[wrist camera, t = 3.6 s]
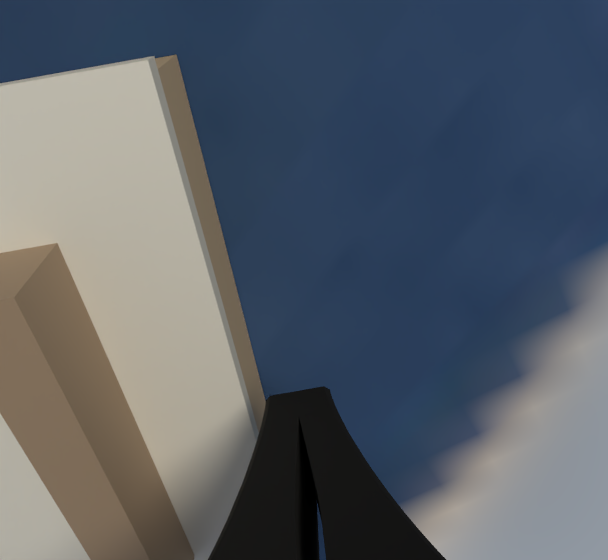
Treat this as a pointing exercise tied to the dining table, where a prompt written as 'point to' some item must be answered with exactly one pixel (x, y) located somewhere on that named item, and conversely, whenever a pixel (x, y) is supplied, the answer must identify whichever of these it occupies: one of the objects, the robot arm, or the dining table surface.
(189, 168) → the box
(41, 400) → the mailer lid
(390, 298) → the dining table surface
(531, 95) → the dining table surface
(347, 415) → the dining table surface
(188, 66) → the dining table surface
